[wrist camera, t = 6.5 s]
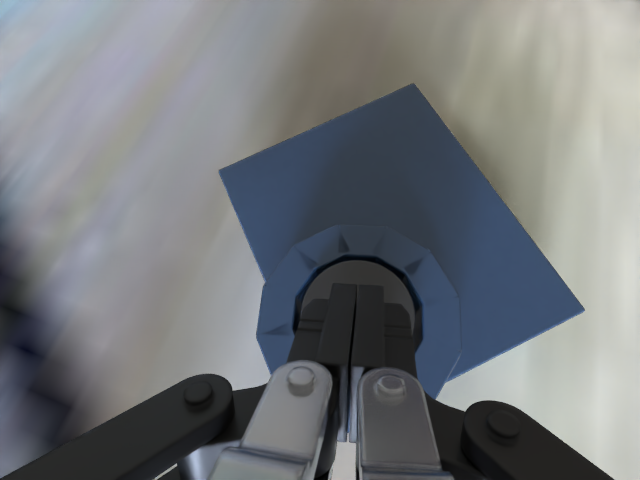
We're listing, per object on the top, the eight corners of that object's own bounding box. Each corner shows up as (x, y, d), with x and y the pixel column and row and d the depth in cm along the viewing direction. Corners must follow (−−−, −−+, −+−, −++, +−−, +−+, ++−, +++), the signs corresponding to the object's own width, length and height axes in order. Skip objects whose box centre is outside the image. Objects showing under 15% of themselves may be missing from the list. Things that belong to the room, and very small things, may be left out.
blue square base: (235, 222, 22) (183, 150, 16) (404, 145, 23) (419, 46, 17) (327, 444, 18) (306, 468, 11) (535, 338, 19) (626, 303, 12)
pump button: (292, 302, 15) (282, 288, 13) (378, 261, 15) (380, 241, 13) (334, 396, 14) (329, 395, 12) (428, 349, 14) (438, 340, 12)
